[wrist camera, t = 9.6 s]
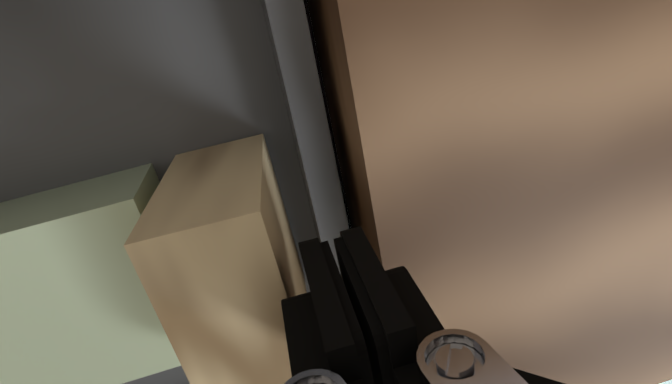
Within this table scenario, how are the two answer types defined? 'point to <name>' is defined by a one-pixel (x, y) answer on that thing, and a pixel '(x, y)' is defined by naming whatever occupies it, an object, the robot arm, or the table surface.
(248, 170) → the maple block
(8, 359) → the sage block
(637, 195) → the tan wooden board
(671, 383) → the table surface
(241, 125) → the tray
